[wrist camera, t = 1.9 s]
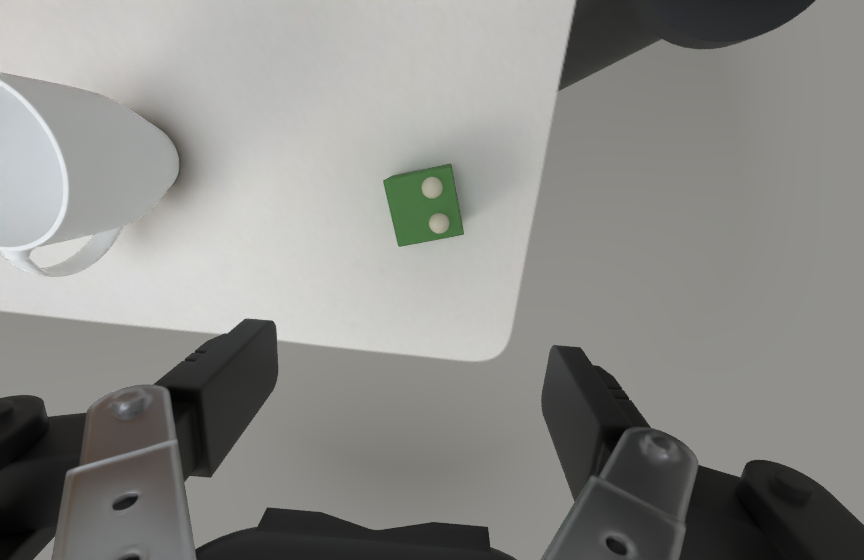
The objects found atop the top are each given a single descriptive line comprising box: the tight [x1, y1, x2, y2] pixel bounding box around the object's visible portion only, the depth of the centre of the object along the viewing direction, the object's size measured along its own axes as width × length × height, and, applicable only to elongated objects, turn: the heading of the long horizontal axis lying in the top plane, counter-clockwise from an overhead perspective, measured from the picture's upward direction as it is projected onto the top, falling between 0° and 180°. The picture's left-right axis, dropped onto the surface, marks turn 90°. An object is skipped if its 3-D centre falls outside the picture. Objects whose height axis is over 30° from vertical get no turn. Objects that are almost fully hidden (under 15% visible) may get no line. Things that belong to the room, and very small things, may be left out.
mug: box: [0, 72, 179, 277], centre depth 26 cm, size 12×9×12 cm
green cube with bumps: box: [383, 164, 464, 247], centre depth 29 cm, size 5×5×5 cm
